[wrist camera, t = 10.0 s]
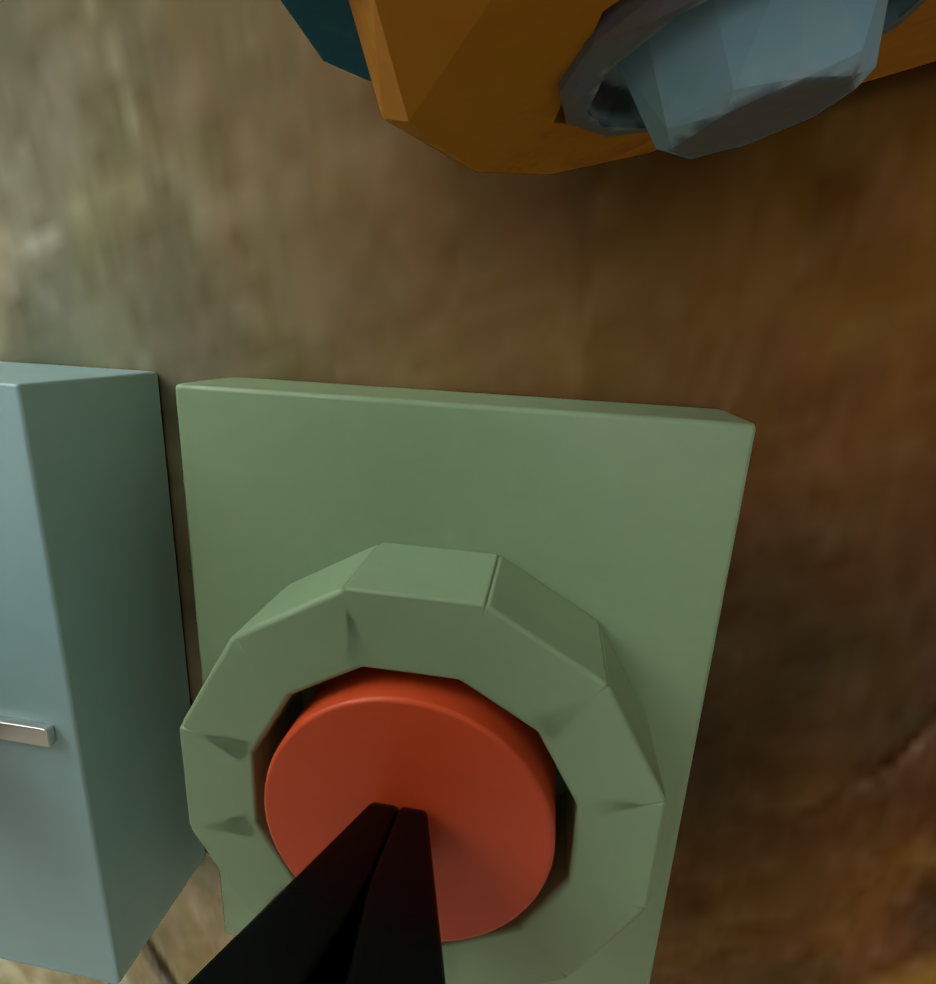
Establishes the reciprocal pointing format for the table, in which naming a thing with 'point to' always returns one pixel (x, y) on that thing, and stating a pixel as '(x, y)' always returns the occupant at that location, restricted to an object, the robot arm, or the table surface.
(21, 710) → the dial panel
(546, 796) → the button
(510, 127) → the device
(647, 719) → the switch box
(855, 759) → the table surface
